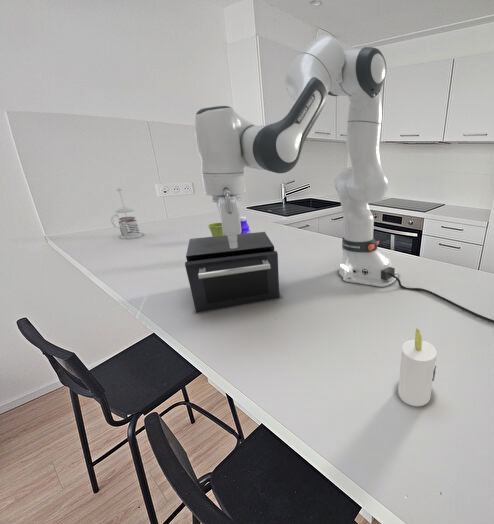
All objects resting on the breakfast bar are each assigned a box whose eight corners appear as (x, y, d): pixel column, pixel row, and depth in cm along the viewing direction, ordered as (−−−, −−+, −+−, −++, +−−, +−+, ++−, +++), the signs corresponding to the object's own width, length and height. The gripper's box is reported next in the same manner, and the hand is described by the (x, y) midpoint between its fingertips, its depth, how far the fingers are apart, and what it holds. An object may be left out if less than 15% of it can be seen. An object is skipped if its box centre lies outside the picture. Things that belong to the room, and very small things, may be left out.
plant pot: (211, 239, 154) (209, 223, 151) (230, 237, 157) (228, 221, 154) (209, 244, 146) (206, 227, 143) (229, 243, 149) (227, 226, 146)
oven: (278, 295, 97) (274, 246, 90) (196, 310, 87) (185, 256, 81) (268, 275, 112) (264, 231, 106) (198, 285, 103) (189, 238, 97)
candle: (429, 410, 55) (439, 343, 49) (394, 400, 57) (400, 334, 51) (433, 387, 60) (442, 324, 55) (401, 378, 62) (407, 316, 57)
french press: (146, 235, 160) (134, 188, 151) (121, 240, 151) (107, 190, 142) (137, 232, 165) (125, 186, 156) (112, 237, 155) (98, 188, 146)
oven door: (282, 305, 92) (280, 260, 83) (196, 321, 83) (184, 273, 74) (278, 295, 96) (276, 250, 87) (196, 309, 87) (185, 261, 78)
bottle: (247, 259, 128) (242, 219, 122) (235, 257, 129) (230, 218, 123) (255, 253, 134) (251, 215, 128) (244, 252, 136) (239, 215, 129)
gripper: (244, 190, 59) (251, 255, 64) (236, 180, 77) (242, 232, 82) (209, 192, 57) (220, 259, 62) (209, 181, 74) (217, 234, 79)
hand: (232, 243), depth 72 cm, fingers open, 5 cm apart
